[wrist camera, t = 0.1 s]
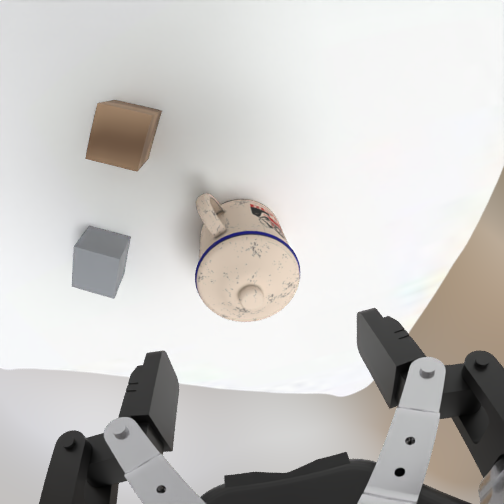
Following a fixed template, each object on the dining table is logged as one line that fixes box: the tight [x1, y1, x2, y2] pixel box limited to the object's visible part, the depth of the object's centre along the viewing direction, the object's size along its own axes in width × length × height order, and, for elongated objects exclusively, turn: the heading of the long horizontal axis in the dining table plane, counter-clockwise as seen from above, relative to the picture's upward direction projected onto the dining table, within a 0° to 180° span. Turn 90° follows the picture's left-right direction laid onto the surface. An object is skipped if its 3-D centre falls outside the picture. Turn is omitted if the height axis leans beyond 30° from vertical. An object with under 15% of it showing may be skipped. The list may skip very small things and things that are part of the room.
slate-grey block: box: [72, 226, 131, 298], centre depth 32 cm, size 5×5×5 cm
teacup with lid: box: [195, 193, 300, 322], centre depth 29 cm, size 12×9×12 cm
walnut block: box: [85, 100, 162, 171], centre depth 26 cm, size 5×5×5 cm
